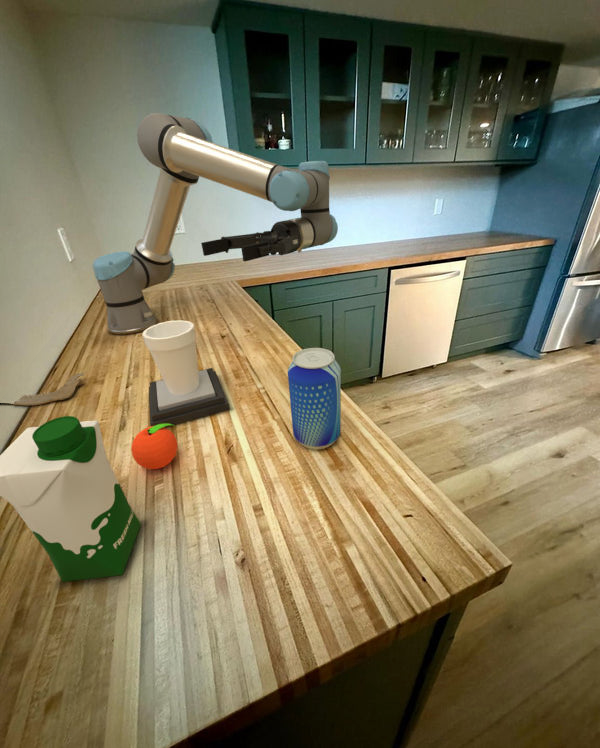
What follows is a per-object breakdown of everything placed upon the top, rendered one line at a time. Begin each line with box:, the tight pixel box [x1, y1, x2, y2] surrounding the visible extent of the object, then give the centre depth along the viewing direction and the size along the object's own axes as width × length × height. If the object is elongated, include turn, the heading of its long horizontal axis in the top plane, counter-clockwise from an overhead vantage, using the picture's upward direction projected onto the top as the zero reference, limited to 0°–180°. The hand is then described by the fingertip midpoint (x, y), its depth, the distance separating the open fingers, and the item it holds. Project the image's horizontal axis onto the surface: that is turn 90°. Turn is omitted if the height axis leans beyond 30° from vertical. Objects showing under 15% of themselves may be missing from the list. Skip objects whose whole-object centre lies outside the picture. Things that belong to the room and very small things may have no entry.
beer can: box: [287, 347, 342, 451], centre depth 56 cm, size 8×8×16 cm
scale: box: [148, 367, 230, 428], centre depth 72 cm, size 15×15×3 cm
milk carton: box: [0, 415, 142, 583], centre depth 38 cm, size 9×9×20 cm
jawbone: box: [12, 372, 85, 407], centre depth 76 cm, size 9×20×2 cm, turn 119°
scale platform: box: [155, 369, 216, 411], centre depth 71 cm, size 11×11×2 cm
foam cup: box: [142, 319, 199, 395], centre depth 68 cm, size 10×9×13 cm
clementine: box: [130, 423, 178, 470], centre depth 55 cm, size 8×7×7 cm
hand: (222, 251), depth 70 cm, fingers open, 13 cm apart
